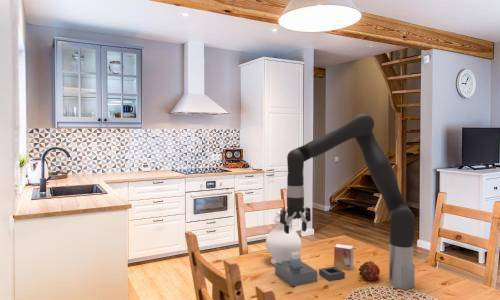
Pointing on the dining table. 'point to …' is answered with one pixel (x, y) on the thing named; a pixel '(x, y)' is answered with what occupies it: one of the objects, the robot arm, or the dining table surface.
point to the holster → (331, 273)
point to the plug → (295, 260)
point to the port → (295, 273)
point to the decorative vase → (282, 241)
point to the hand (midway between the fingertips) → (295, 232)
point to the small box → (343, 256)
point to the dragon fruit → (369, 271)
